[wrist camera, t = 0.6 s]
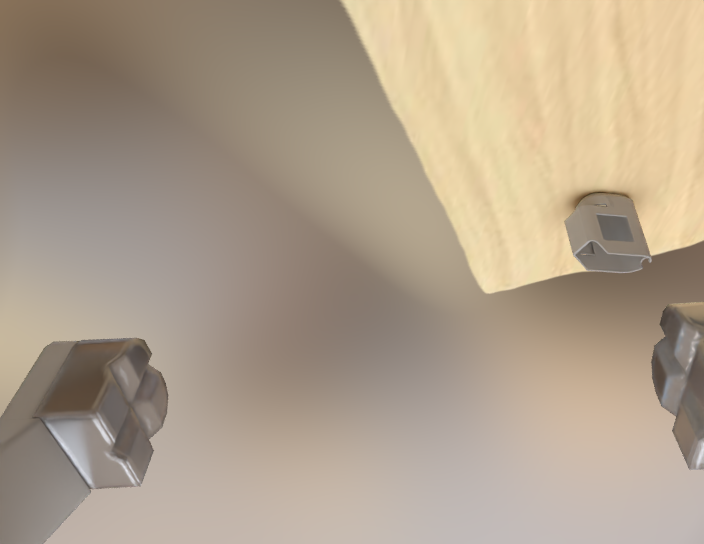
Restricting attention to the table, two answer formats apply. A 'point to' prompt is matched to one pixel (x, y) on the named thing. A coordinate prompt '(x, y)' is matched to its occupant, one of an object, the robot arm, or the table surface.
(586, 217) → the cable organizer
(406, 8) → the table surface
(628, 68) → the table surface
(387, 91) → the table surface
